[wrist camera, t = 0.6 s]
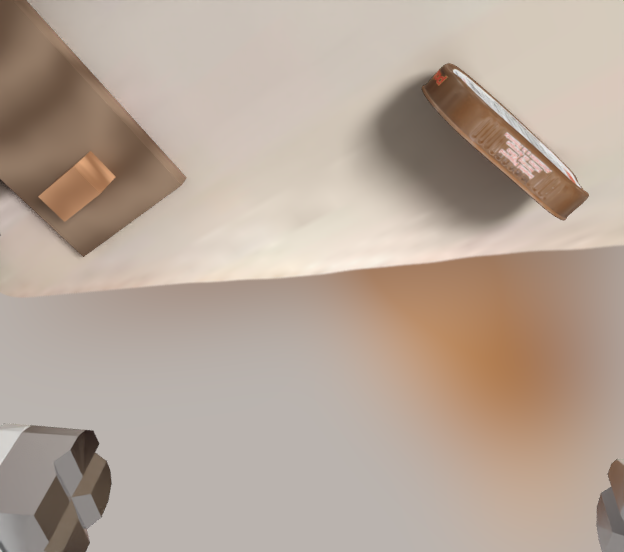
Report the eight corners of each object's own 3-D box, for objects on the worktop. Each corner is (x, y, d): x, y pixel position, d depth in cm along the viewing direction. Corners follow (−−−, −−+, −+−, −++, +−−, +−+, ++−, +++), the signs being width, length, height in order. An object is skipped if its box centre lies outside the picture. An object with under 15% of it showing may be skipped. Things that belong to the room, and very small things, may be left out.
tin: (417, 75, 46) (419, 113, 40) (446, 43, 45) (454, 76, 38) (548, 191, 51) (570, 243, 44) (579, 165, 49) (607, 214, 42)
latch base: (-143, 28, 50) (-213, 49, 44) (-56, -90, 44) (-124, -83, 38) (89, 248, 60) (57, 289, 54) (186, 177, 54) (160, 215, 48)
